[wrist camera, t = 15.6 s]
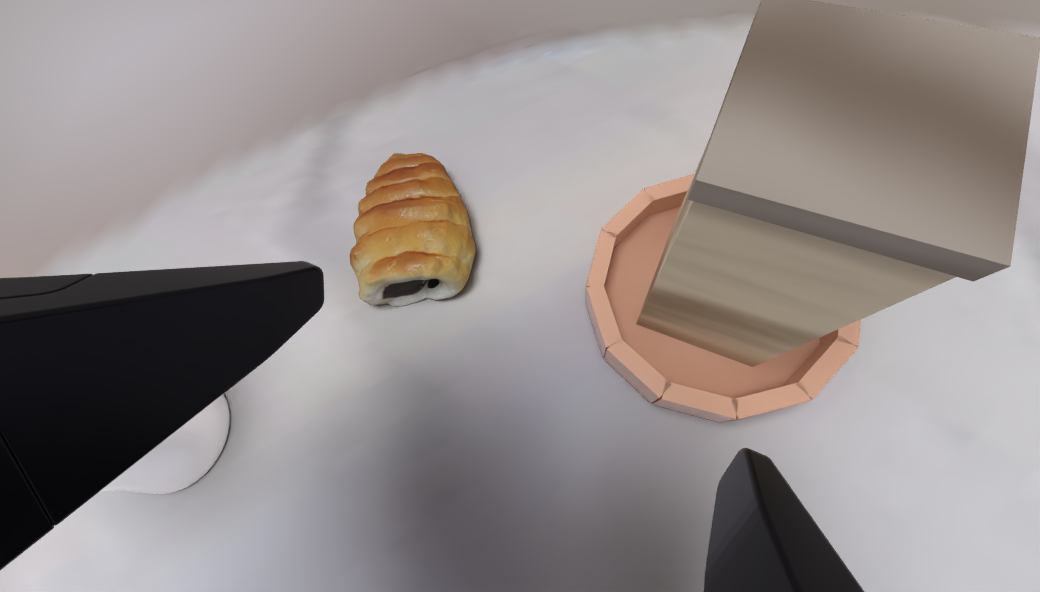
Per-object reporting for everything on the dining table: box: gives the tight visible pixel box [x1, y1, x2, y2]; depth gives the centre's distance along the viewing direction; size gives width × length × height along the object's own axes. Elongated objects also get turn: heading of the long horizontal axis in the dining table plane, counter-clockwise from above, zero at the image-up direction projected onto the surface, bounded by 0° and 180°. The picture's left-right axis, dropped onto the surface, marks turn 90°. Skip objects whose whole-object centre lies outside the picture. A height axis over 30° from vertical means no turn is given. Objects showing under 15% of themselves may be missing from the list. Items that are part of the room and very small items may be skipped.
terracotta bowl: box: [586, 174, 860, 422], centre depth 21 cm, size 12×12×2 cm
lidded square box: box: [636, 0, 1040, 367], centre depth 15 cm, size 6×6×12 cm
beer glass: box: [99, 394, 230, 494], centre depth 16 cm, size 7×7×15 cm
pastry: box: [350, 153, 476, 306], centre depth 24 cm, size 9×7×4 cm
